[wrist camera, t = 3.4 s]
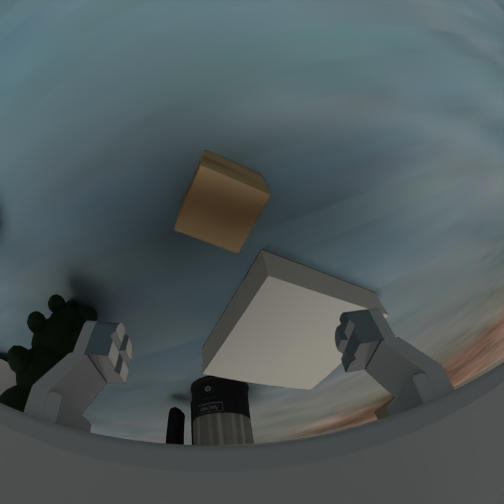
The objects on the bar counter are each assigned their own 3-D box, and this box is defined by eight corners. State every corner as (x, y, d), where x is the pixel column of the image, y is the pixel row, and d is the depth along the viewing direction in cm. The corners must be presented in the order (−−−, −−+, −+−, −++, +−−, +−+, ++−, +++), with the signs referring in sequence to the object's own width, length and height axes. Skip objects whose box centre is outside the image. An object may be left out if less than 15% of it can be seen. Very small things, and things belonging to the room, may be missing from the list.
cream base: (304, 367, 38) (310, 389, 35) (202, 347, 33) (202, 373, 30) (374, 292, 31) (388, 315, 28) (261, 249, 26) (268, 275, 23)
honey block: (234, 222, 24) (238, 253, 20) (182, 202, 23) (173, 229, 19) (260, 173, 22) (270, 195, 18) (204, 149, 21) (200, 165, 16)
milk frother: (223, 367, 36) (230, 465, 24) (281, 399, 44) (296, 473, 31) (160, 394, 40) (155, 474, 27) (221, 420, 47) (226, 486, 35)
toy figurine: (124, 279, 26) (70, 533, 5) (111, 368, 35) (91, 521, 14) (49, 251, 23) (-51, 466, 3) (57, 348, 32) (20, 493, 11)
